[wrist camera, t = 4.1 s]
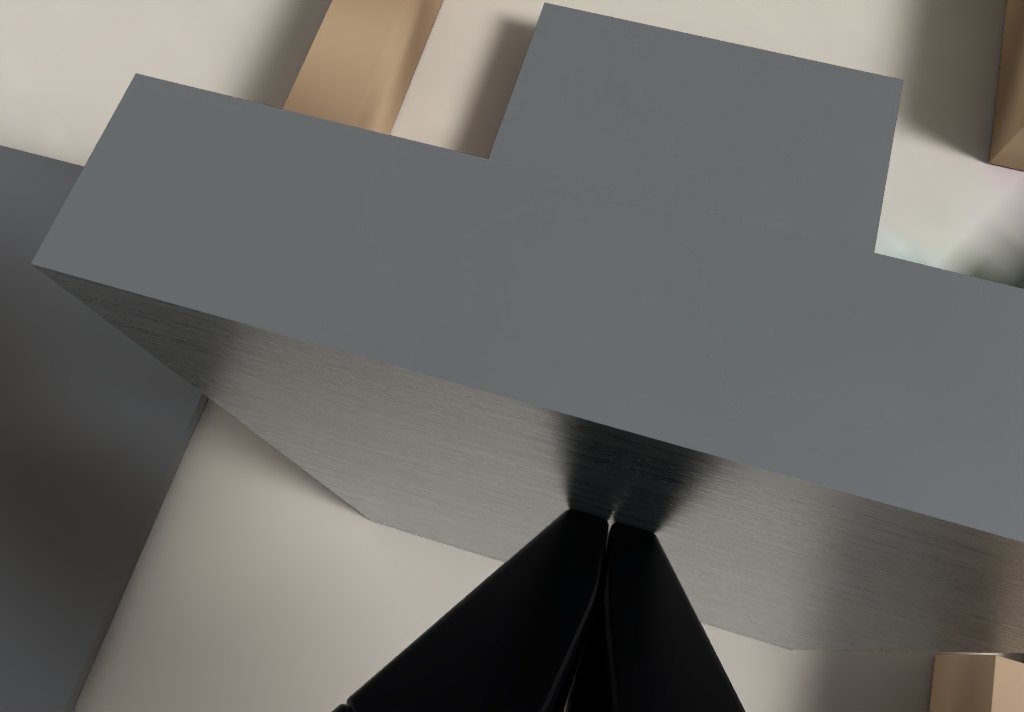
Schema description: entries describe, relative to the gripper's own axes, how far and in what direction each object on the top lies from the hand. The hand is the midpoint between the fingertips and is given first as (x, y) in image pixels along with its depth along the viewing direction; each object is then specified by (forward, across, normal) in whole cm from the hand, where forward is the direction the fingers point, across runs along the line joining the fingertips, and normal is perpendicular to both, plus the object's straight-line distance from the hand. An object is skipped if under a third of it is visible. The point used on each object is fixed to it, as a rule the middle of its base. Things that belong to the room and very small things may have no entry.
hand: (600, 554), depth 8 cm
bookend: (+10, 0, +1) cm, 10 cm away
